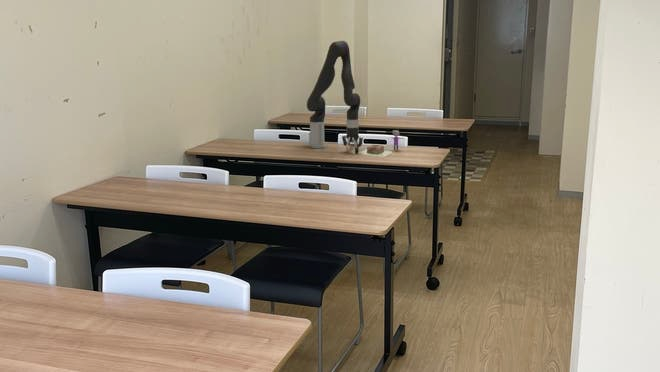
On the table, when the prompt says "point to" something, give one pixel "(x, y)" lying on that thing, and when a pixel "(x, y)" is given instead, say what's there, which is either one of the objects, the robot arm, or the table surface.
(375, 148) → the base brick
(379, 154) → the build plate
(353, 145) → the top brick
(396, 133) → the toy
